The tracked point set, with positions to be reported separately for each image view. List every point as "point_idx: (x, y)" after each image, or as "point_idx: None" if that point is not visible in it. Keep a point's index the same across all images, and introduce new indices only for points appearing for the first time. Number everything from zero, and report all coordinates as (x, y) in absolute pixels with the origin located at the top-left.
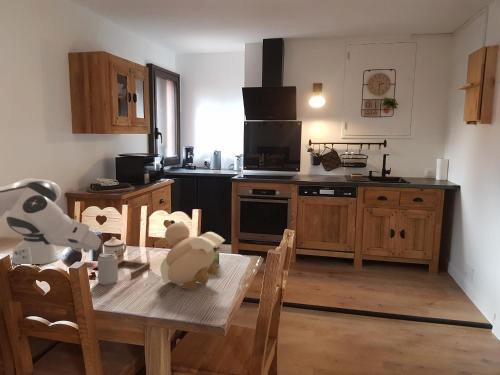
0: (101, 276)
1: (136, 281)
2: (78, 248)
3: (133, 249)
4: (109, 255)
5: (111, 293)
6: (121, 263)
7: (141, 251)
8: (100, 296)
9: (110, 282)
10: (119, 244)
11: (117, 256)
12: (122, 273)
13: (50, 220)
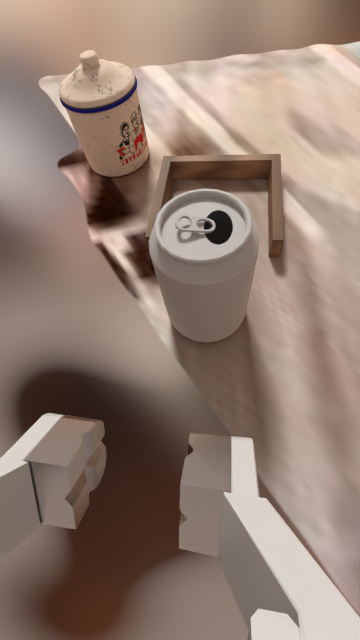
0: (197, 328)
1: (311, 276)
2: (77, 506)
3: None
4: (214, 223)
5: (296, 412)
6: (169, 175)
7: (163, 87)
8: (269, 458)
9: (235, 329)
10: (129, 88)
11: (134, 143)
12: None
13: None
